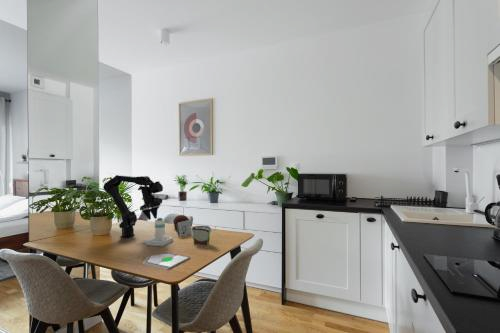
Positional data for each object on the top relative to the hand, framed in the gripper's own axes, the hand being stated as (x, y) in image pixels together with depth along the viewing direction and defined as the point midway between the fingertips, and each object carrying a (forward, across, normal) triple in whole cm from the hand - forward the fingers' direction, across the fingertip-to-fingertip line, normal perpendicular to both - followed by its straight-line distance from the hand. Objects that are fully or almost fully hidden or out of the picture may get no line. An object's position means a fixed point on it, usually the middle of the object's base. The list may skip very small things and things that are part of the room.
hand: (152, 219), depth 160 cm
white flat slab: (+19, -37, +15) cm, 44 cm away
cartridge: (+14, -10, +3) cm, 17 cm away
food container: (+21, -29, -14) cm, 39 cm away
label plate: (+18, -11, -19) cm, 28 cm away
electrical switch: (+16, -5, -16) cm, 23 cm away
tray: (+14, -10, +3) cm, 18 cm away
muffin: (+13, +11, -23) cm, 29 cm away
